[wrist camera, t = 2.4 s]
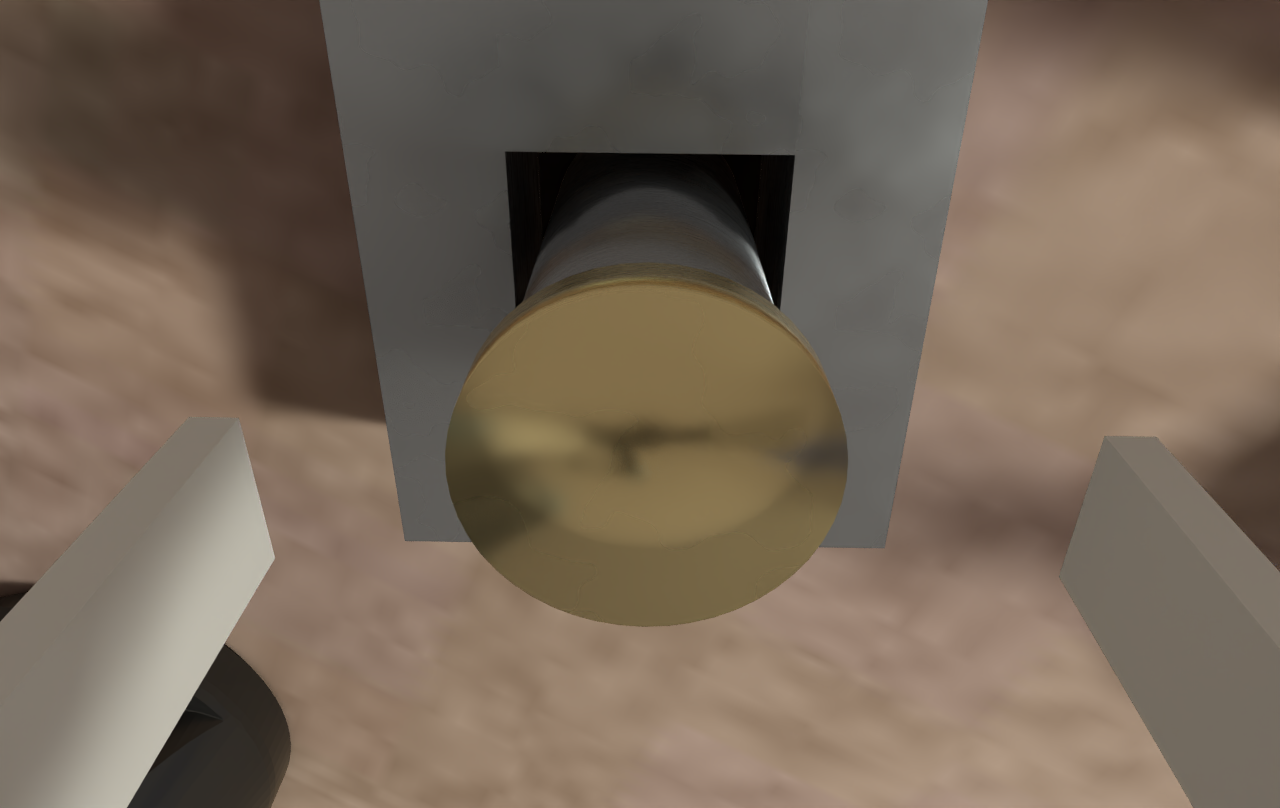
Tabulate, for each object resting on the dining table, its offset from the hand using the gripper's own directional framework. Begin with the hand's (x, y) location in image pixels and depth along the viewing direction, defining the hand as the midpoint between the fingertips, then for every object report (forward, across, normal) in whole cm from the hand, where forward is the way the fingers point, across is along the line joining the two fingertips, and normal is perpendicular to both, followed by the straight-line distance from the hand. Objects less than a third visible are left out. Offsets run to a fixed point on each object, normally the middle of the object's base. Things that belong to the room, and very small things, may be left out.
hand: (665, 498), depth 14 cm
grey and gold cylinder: (+15, 0, 0) cm, 15 cm away
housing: (+15, 0, 0) cm, 15 cm away
